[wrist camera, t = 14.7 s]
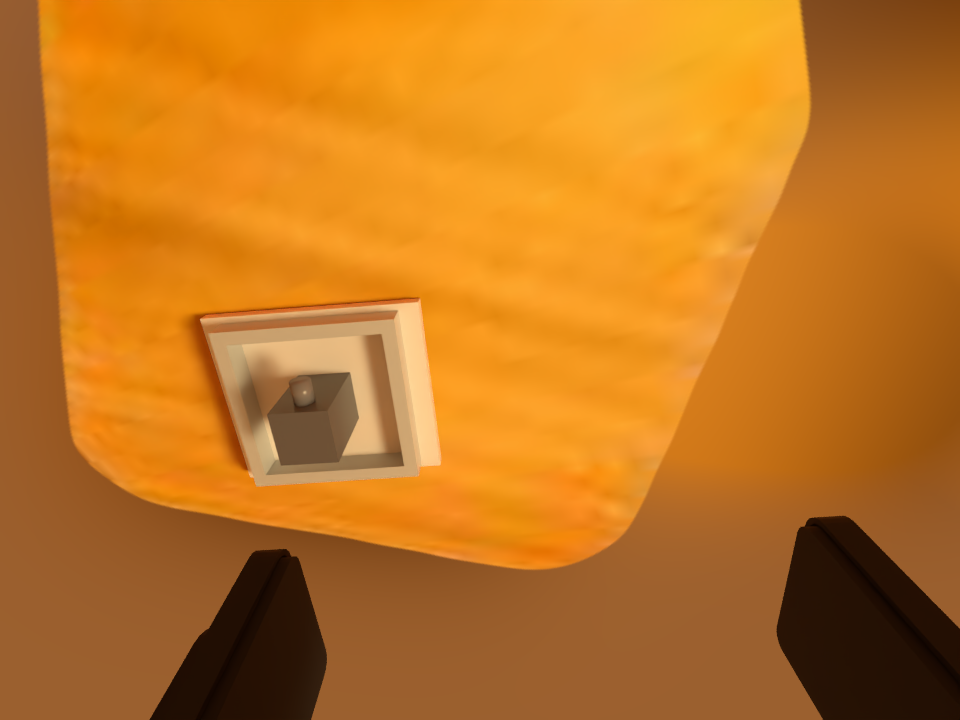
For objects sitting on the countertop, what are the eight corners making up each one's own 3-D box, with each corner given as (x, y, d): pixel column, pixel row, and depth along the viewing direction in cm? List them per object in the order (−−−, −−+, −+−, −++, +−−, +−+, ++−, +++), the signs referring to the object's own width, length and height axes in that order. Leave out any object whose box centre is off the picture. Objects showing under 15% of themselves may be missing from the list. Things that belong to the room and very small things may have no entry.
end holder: (206, 314, 37) (184, 328, 34) (419, 298, 36) (414, 310, 34) (255, 470, 43) (239, 492, 40) (441, 458, 42) (438, 480, 39)
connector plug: (293, 356, 37) (260, 392, 32) (346, 352, 37) (322, 388, 32) (309, 421, 39) (280, 465, 34) (359, 418, 39) (338, 462, 34)
